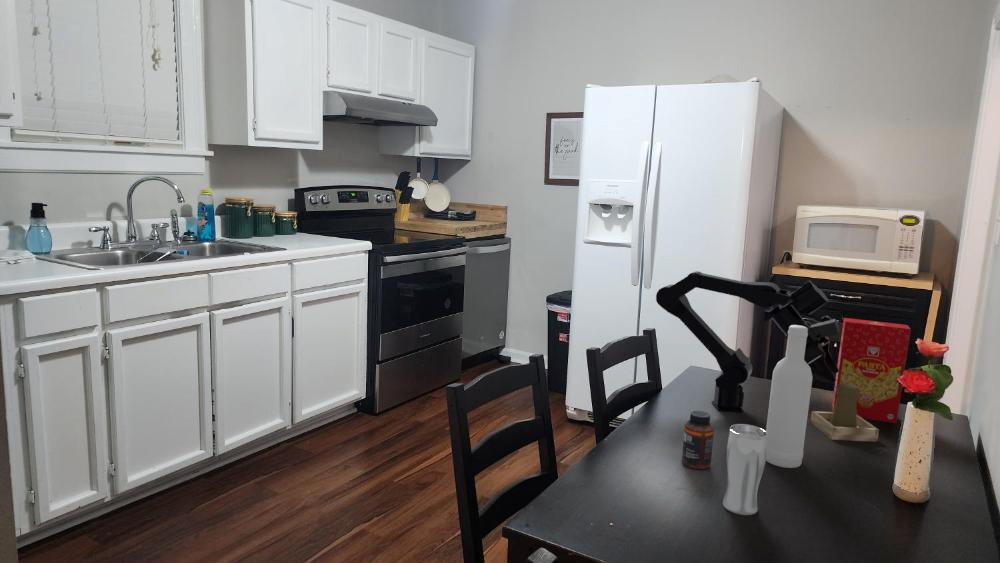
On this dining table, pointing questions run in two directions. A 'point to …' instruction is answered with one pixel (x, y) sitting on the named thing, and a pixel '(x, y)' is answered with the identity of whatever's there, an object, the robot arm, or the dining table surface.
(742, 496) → the beer glass
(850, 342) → the food packaging
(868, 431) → the oak box
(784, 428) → the bottle
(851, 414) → the olive green pepper shaker
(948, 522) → the dining table surface
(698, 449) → the supplement bottle
